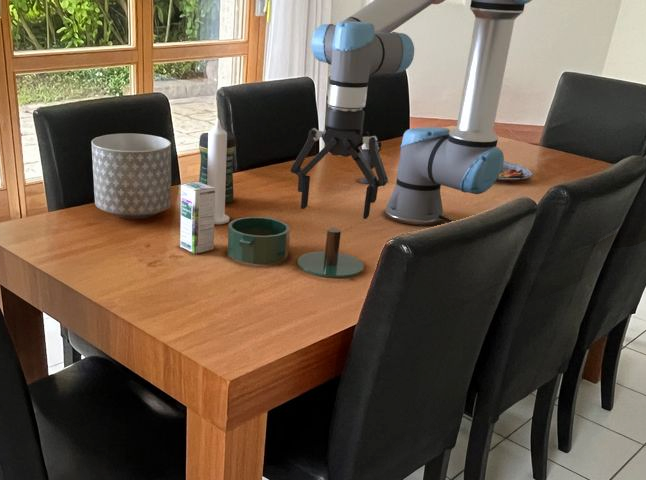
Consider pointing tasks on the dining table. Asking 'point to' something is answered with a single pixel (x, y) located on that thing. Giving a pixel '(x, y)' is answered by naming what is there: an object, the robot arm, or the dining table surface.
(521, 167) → the food plate
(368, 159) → the sundae
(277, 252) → the pot
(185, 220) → the syrup box
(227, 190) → the coffee jar
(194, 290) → the dining table surface
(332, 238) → the pot lid
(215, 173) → the white syringe
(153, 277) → the dining table surface
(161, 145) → the planter
